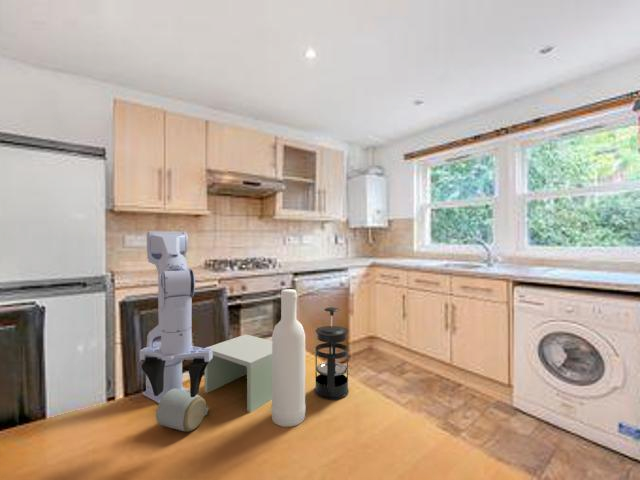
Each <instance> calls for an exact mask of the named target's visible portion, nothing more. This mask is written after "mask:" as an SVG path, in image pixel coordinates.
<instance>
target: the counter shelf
mask: <svg viewBox="0 0 640 480" xmlns="http://www.w3.org/2000/svg"><path fill="white" fill-rule="evenodd" d="M205 348H206V349H213V358H212V359H211V360H210V361H209V362H208V364H207V366H206V368H205V371H204V376H203V377H204V381H203V382H204V390H203V391H204V393H206V394H208V393H210V392H212V391H214V390H217V389H218V388H220V387H223V386H224V385H227V384H229V383H231V382H233V381H235V380H237V379H239V378H241V377H244V376H247V378H246V387H247V388H246V391H247V392H246V394H247V395H246V407H247V408H246V411H247V412H248V413H252V412H254V411H255V410H257V409H258V408H260V407H262V406H263V405H265V404H266V403H268V402H270V401H272V339H271V340H270V339H266V338H262V337H259V336H254V335H251V334H242V335H240V336H237V337H233V338H230V339H228V340H224V341H221V342H219V343H216V344H213V345H209V346H206V347H205Z"/></svg>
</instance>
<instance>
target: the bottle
mask: <svg viewBox="0 0 640 480" xmlns="http://www.w3.org/2000/svg"><path fill="white" fill-rule="evenodd" d="M280 293H281V294H280V302H281V303H280V311H281V312H280V315H281V316H280V320H279V322H278V323H276V324H275V325H274V328H273V331H272V335H271V338H272V339H271V341H272V399H271V402H272V403H271V419H272V422H273V423H274V425H275V424H276V425H277V426H279V427H284V428H290V427H295V426H299V425H300V424H301V423H302V422H304V421H305V418H306V409H307V408H306V332H305V330H304V329H305V328H304V327H303V324H302V323H301V322H300V321H299V320H298V319H297V313H298V312H297V304H298V303H297V302H298V301H297V299H298V294H297V293H298V292H297V290H296V289H293V288H289V289H281V291H280Z"/></svg>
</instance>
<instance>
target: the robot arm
mask: <svg viewBox="0 0 640 480" xmlns="http://www.w3.org/2000/svg"><path fill="white" fill-rule="evenodd" d="M188 248H189V237H188V233H187V231H184V230H183V231H159V230H158V231H154V230H148V231H147V233H146V253H147V254H146V257H147V259H148V263H150V264H153V265H154V266H155V268H156V271H157V293H158V294H157V295H158V297H157V300H158V305H157V307H158V309H157V310H158V324H157V325H156V326H155V327H154V328H152V330H150V331H149V332H148V334H147V336H146V337H147V338H146V339H147V341H146V347H143V348H142V349H140V350H139V360H140V361H144V362H143V363H142V364H141V369H142V371H143V372H144V374H145V391H143V392H142V395H143V396H145V397H147V398H148V399H150V400H152V401H154V402H155V403H157V404H159V402H160V400H161V399H162V397H163V396H164V395H165V394H166V393H167V392H168V391H169V390H171V389H174V388H178V389H181V390H184V391H187V392H190V395H191V397H195V396H196V395H199V394H198V393H199V390H200V386H201V382H202V379H203V377H204V376H203V375H204V374H205V368H206V366H207V364H208V362H209V361H210V360H211V359H212V358H213V349H206V347H205V348H204V347H200V346H194V345H192V335H193V334H192V333H193V331H192V327H193V325H192V324H193V323H192V315H193V314H192V312H193V311H192V307H193V306H192V305H193V304H192V302H193V301H192V300H193V299H192V298H193V297H194V295H195V291H196V290H195V289H196V278H195V274H194V270H193V269H192V268H189V267H188V264H187V258H186V257H187V256H186V255H187V252H188ZM185 360H186V361H187V360H188V361H191V362H190V363H189V364H188V365H187V370H188V375H189V387H190V388H189V389H188V388H186V387H183V362H184V361H185Z"/></svg>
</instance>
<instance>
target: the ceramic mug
mask: <svg viewBox="0 0 640 480" xmlns="http://www.w3.org/2000/svg"><path fill="white" fill-rule="evenodd" d="M209 410H210V408H209V406H208V405H207V403H206V399H205V398H203V397H202V396H201V395H199V394H197V395H196V396H195V397H191V395H190V391H189V392H187V391H184V390H181V389H178V388H174V389H171V390H169V391H168V392H167V393H166V394H165V395H164V396H163V397H162V399H161V400H160V402H159V403H157V409H156V412H155V414H156V415H155V417H156V422H157V424H158V425H159V426H162V427H166V428H169V429H173V430H174V429H175V430H178V431H180V432H192V431H194V430H195V429H197V428H198V427H199V426H200V424H201V423H202V422H203V419H204V417H205V416H207V415H208V413H209Z"/></svg>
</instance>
